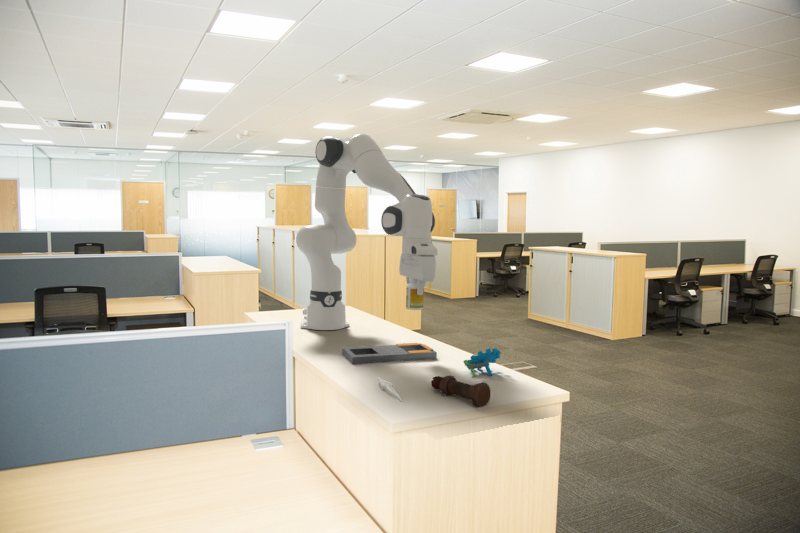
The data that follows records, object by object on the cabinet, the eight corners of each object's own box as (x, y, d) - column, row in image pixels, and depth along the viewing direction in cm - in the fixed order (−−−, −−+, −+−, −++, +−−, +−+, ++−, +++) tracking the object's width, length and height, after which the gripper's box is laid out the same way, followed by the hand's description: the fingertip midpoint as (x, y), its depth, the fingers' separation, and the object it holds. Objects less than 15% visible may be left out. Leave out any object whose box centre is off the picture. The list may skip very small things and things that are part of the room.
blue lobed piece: (493, 361, 148) (503, 343, 141) (501, 380, 145) (512, 362, 137) (457, 369, 145) (466, 350, 137) (465, 388, 141) (475, 370, 134)
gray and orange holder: (342, 354, 158) (342, 346, 158) (420, 349, 167) (421, 342, 167) (352, 364, 147) (352, 356, 147) (436, 358, 156) (436, 351, 156)
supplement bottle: (427, 309, 159) (428, 277, 158) (414, 310, 155) (416, 278, 154) (414, 306, 162) (415, 275, 162) (402, 308, 159) (403, 276, 158)
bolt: (436, 396, 127) (485, 411, 116) (424, 389, 124) (473, 404, 113) (444, 374, 129) (493, 387, 118) (432, 367, 126) (482, 379, 115)
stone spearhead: (373, 383, 130) (374, 376, 130) (383, 382, 131) (384, 375, 131) (396, 405, 116) (396, 397, 116) (407, 405, 117) (407, 396, 117)
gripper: (395, 246, 166) (393, 289, 167) (419, 249, 147) (418, 298, 148) (413, 246, 168) (412, 289, 169) (440, 249, 149) (438, 297, 150)
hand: (415, 293), depth 158 cm, fingers closed on supplement bottle, 5 cm apart
